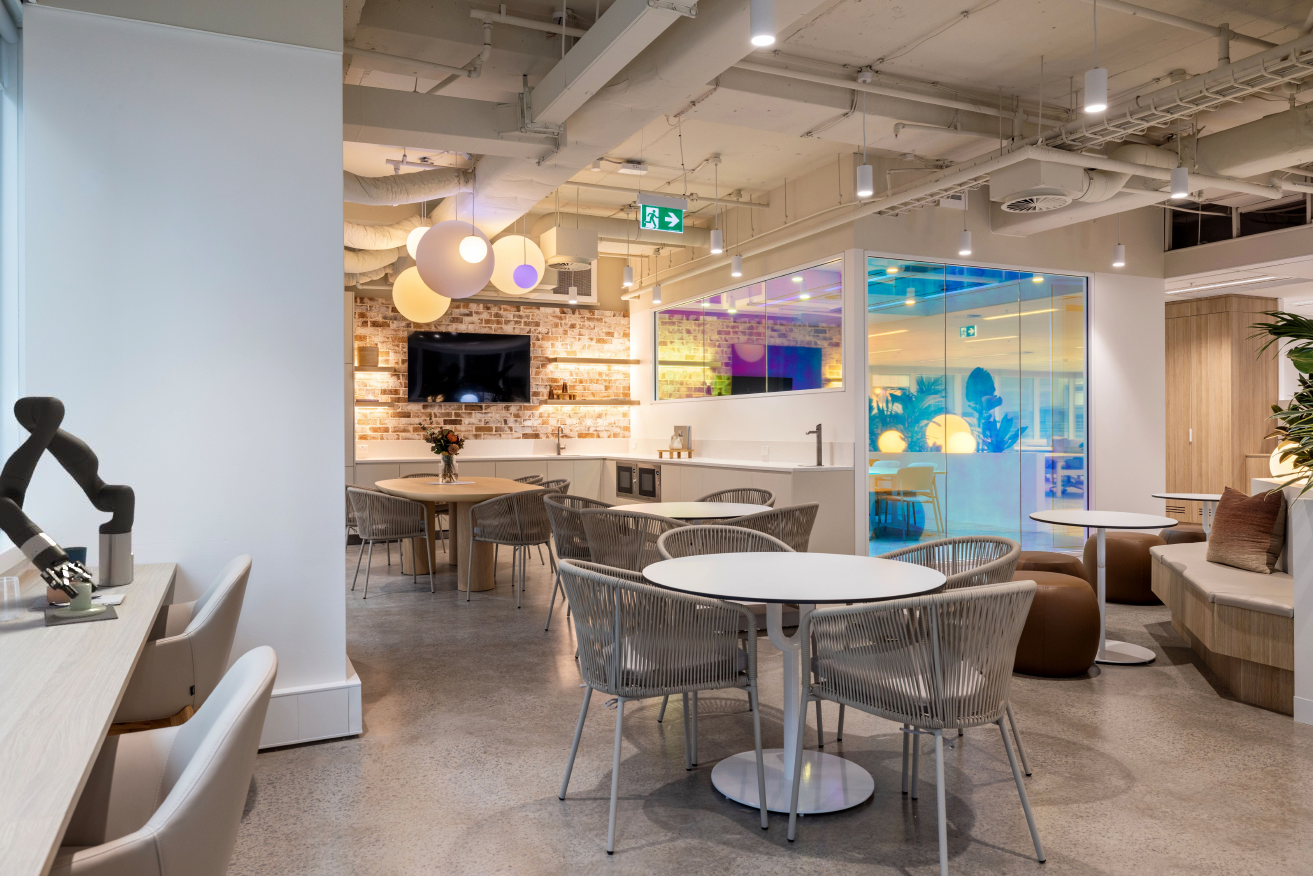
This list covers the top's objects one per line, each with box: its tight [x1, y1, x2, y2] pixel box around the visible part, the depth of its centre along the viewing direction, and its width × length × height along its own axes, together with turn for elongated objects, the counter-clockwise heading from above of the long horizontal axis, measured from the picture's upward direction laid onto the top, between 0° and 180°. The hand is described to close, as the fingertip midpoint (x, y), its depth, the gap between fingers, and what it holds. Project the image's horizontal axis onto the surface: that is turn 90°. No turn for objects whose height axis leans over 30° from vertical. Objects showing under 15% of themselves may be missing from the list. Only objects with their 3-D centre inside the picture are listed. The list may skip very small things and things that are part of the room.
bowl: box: [46, 582, 93, 603], centre depth 249 cm, size 11×11×6 cm
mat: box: [45, 603, 119, 627], centre depth 235 cm, size 22×16×1 cm
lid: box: [55, 583, 106, 618], centre depth 235 cm, size 12×12×8 cm
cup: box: [61, 546, 88, 582], centre depth 259 cm, size 7×7×15 cm
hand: (86, 593), depth 235 cm, fingers open, 8 cm apart
